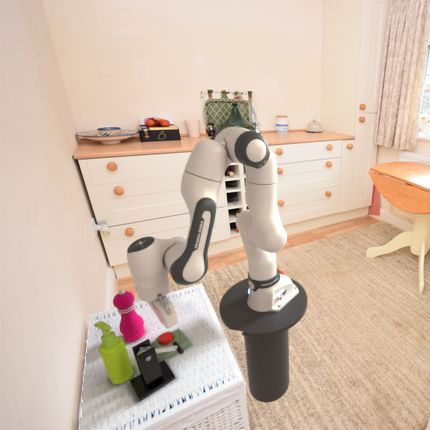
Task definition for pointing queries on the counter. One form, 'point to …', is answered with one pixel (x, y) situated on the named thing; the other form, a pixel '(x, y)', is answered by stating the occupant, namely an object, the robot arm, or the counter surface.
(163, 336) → the button
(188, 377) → the counter surface
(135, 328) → the pepper mill
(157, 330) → the counter surface
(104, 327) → the soap dispenser
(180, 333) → the button block
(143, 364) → the bracket
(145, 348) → the tap lever
